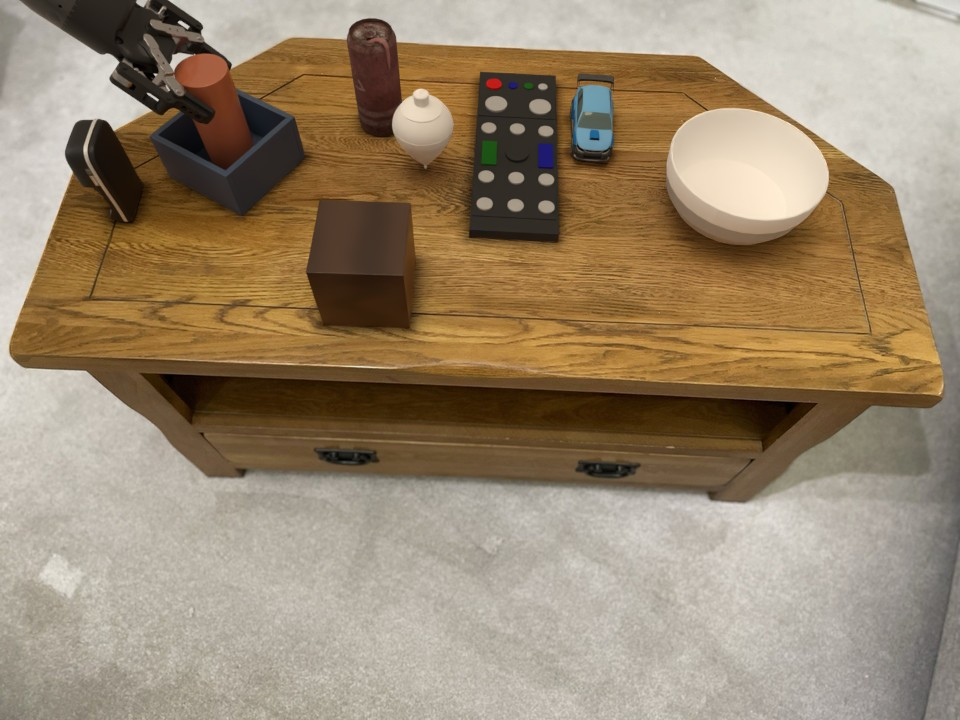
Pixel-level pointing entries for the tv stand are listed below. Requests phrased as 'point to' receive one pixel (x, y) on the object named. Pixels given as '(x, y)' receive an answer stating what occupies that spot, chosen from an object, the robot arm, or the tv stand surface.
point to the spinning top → (422, 126)
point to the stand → (363, 263)
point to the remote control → (515, 159)
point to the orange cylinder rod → (216, 107)
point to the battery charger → (104, 167)
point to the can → (375, 74)
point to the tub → (249, 173)
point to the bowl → (744, 175)
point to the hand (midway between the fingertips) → (220, 94)
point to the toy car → (592, 120)
